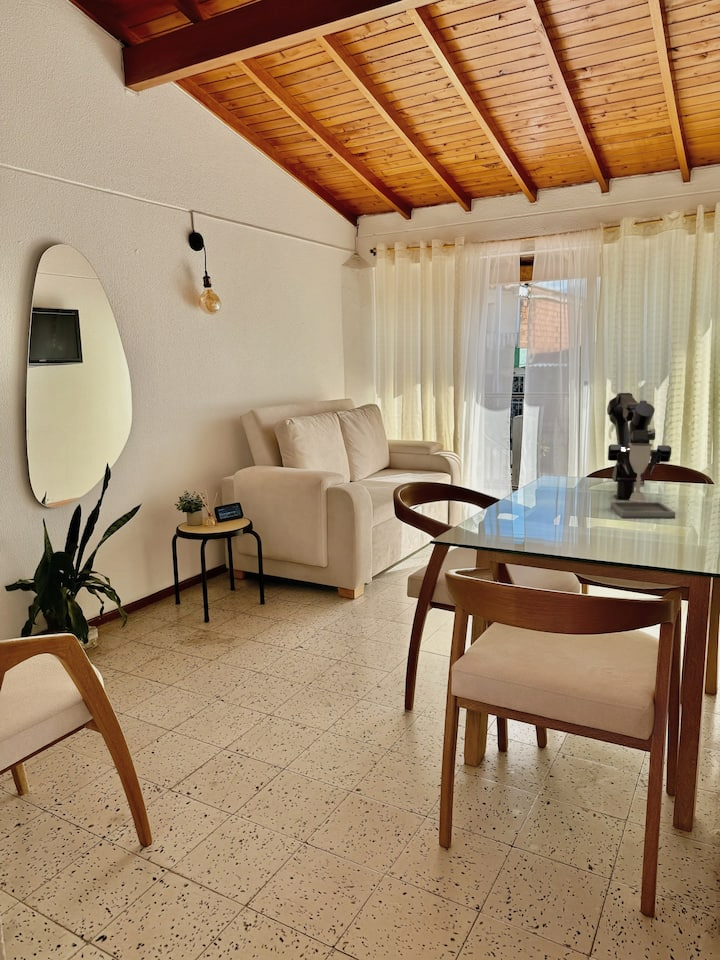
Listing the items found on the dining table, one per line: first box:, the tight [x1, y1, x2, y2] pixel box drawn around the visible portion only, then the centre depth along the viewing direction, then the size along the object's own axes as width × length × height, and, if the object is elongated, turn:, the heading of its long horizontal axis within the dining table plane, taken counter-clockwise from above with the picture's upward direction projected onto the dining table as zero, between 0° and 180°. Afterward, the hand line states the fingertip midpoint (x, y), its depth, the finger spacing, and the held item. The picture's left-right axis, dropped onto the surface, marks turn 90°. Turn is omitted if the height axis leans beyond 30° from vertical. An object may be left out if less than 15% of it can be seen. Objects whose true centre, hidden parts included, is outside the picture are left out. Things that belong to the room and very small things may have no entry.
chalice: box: [628, 443, 653, 502], centre depth 217 cm, size 7×7×18 cm
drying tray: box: [609, 501, 676, 519], centre depth 221 cm, size 15×16×2 cm
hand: (639, 474), depth 216 cm, fingers closed on chalice, 6 cm apart
